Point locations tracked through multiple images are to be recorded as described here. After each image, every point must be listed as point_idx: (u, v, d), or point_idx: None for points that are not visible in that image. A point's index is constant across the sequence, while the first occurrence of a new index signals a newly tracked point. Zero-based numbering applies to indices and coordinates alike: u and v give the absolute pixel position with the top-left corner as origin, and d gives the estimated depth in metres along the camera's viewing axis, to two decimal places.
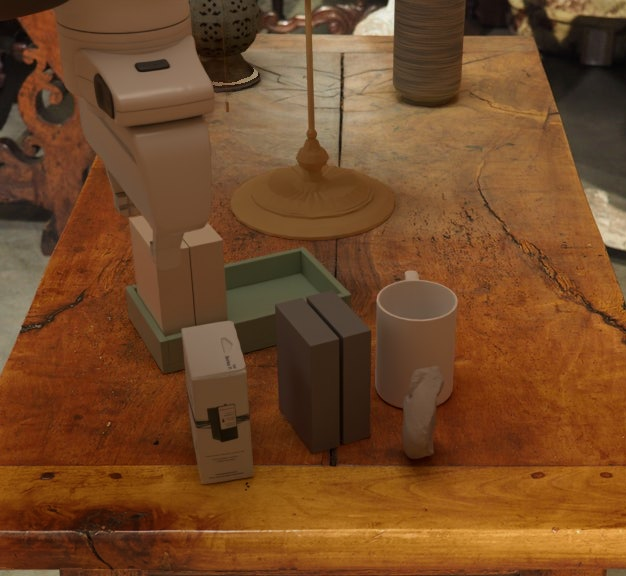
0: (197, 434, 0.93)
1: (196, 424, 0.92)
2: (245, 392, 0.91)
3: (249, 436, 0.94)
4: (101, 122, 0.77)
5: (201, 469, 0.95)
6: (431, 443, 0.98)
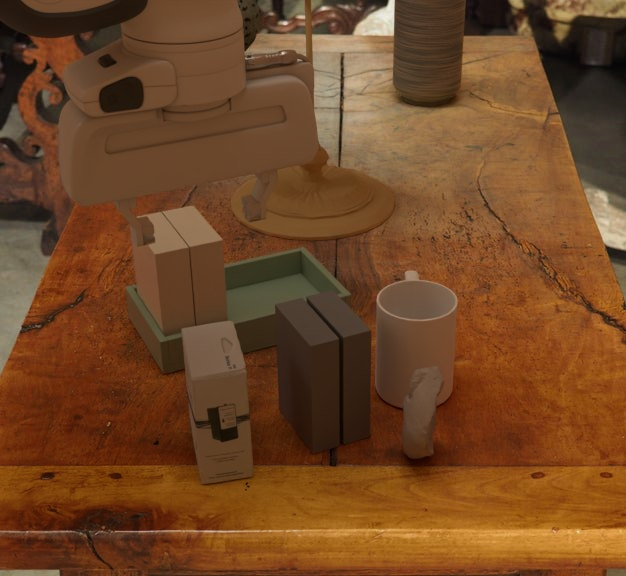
0: (197, 434, 0.93)
1: (196, 424, 0.92)
2: (245, 392, 0.91)
3: (249, 436, 0.94)
4: None
5: (201, 469, 0.95)
6: (431, 443, 0.98)
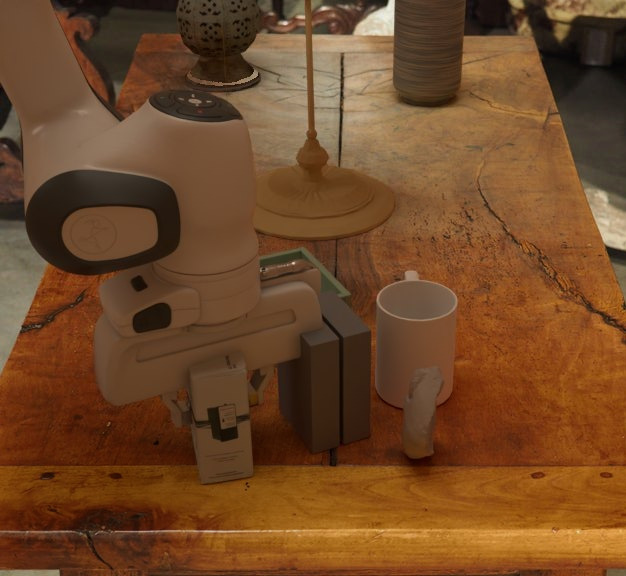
0: (197, 434, 0.93)
1: (196, 424, 0.92)
2: (245, 391, 0.92)
3: (249, 436, 0.94)
4: None
5: (201, 469, 0.95)
6: (431, 443, 0.98)
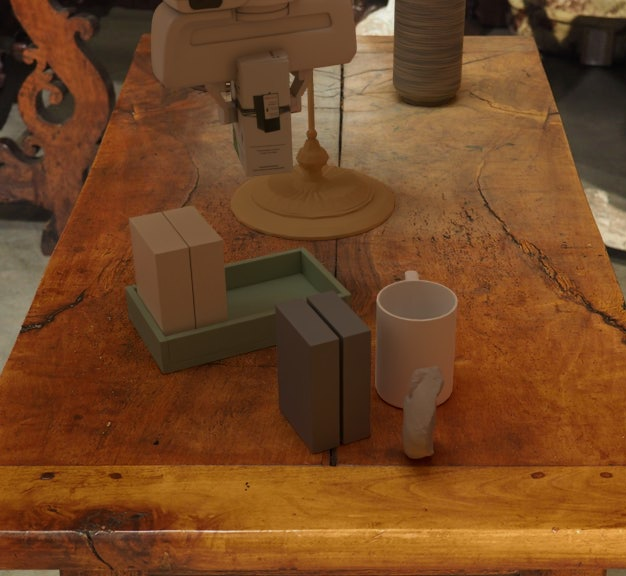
0: (243, 123, 1.02)
1: (243, 112, 1.02)
2: (287, 81, 1.01)
3: (290, 129, 1.04)
4: None
5: (246, 160, 1.04)
6: (431, 443, 0.98)
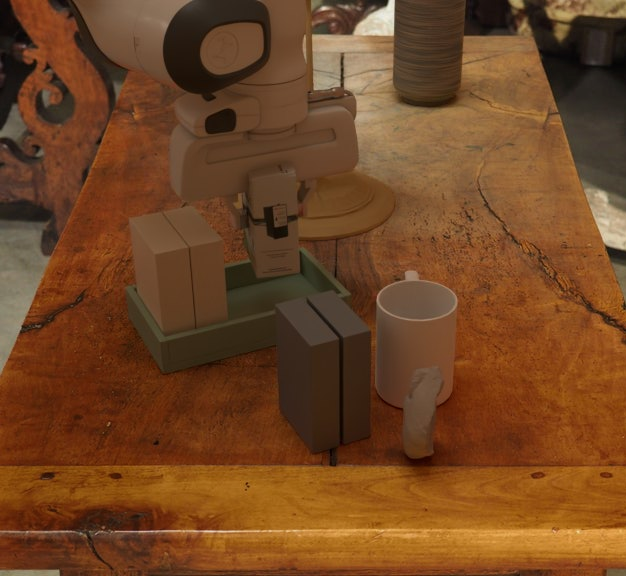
0: (254, 231, 1.11)
1: (254, 222, 1.10)
2: (295, 193, 1.10)
3: (297, 235, 1.12)
4: None
5: (257, 264, 1.13)
6: (431, 443, 0.98)
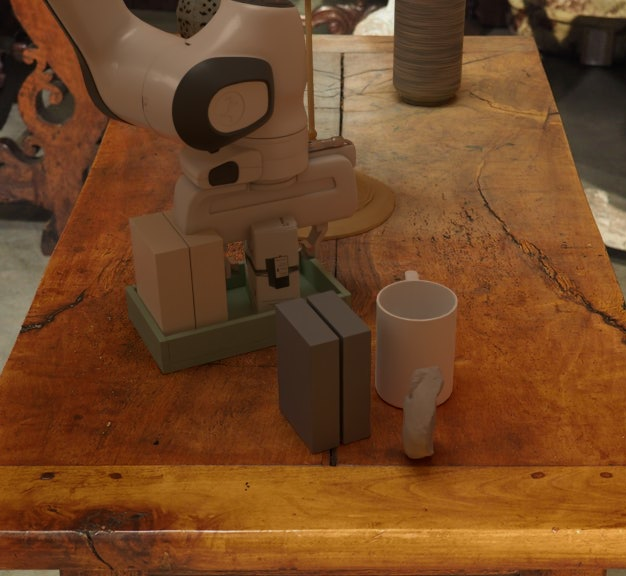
0: (256, 281, 1.14)
1: (256, 272, 1.13)
2: (296, 245, 1.13)
3: (298, 285, 1.15)
4: None
5: (259, 313, 1.16)
6: (431, 443, 0.98)
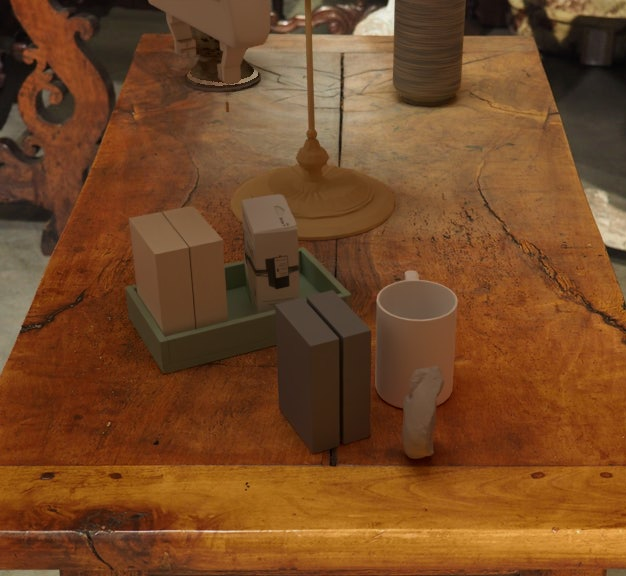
0: (256, 281, 1.14)
1: (256, 273, 1.13)
2: (296, 245, 1.13)
3: (298, 285, 1.15)
4: None
5: (259, 313, 1.16)
6: (431, 443, 0.98)
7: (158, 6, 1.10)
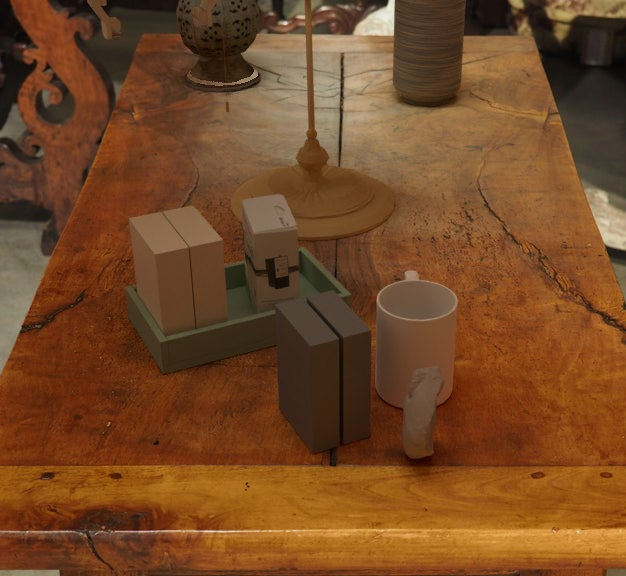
0: (256, 281, 1.14)
1: (256, 273, 1.13)
2: (296, 245, 1.13)
3: (298, 285, 1.15)
4: None
5: (259, 313, 1.16)
6: (431, 443, 0.98)
7: None
